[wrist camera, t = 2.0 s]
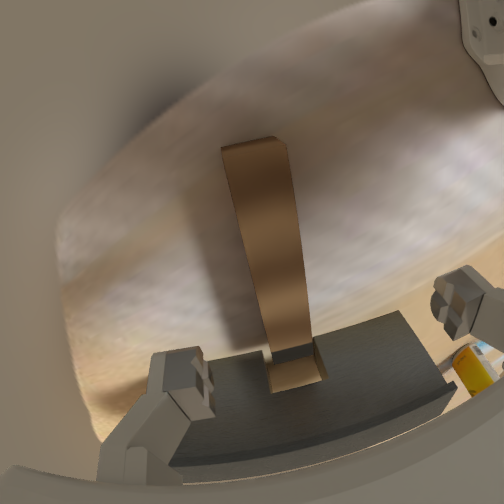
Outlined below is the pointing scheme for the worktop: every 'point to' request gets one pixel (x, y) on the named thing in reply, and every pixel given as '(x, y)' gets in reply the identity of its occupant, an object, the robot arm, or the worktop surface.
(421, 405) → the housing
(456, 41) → the worktop surface
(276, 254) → the rod
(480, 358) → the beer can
